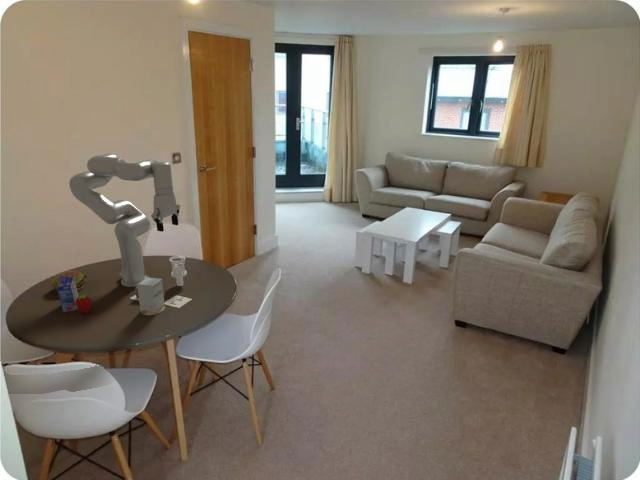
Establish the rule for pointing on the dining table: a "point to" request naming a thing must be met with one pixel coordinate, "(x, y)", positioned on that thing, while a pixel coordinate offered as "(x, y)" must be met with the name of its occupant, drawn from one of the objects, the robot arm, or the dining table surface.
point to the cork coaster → (152, 312)
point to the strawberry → (83, 303)
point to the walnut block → (136, 292)
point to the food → (77, 276)
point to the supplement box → (150, 294)
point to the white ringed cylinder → (178, 269)
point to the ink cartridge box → (67, 293)
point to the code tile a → (177, 301)
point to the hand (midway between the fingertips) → (168, 227)
